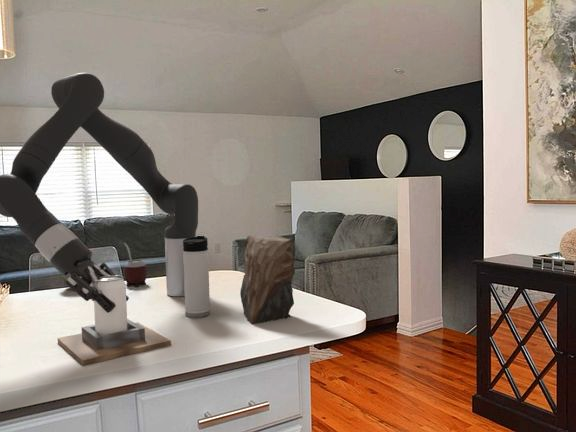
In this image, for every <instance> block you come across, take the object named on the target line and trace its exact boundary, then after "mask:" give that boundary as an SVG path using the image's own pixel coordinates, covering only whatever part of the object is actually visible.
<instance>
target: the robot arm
mask: <svg viewBox="0 0 576 432" xmlns="http://www.w3.org/2000/svg"><path fill="white" fill-rule="evenodd" d="M104 89H105V88H104V85H103V83H102V82H101V80H100V79H99V78H98V76H96V75H94V74H93V73H89V72H78V73H75V74H71V75H67V76H65V77H62V78H59V79H57V80H55V81H54V82H53V83H52V86H51V91H50V92H51V93H50V94H51V98H52V99H53V102H54V104H55V105H56V107H57V108H58V109H57V111H55V113H54V114H53V115H52V116H51V117H49V119H48V120H47V121H45V122H44V123H43V124H42V125H41V126H40V127H38V128H37V130H36V131H34V132H33V134H31V135H30V136H29V138H28V139H27V140H26V142H25V143H24V144H23V145H22V147H21V148H20V150H19V152H18V153H17V154H16V155H15V157H14V159H13V161H12V166H11V171H10V173H7V174H6V173H5V174H0V215H1V216H3V217H7V218H12V220H14V221H15V222H16V224H17V227H18V228H19V230H20V231H21V233H22V234H23V236H25V238H27V239H28V240H29V242H30V243H31V244H32V245H34V246H35V248H36V249H37V250H38V252H39V253H40V254H41V255H42V256H43V258H45V259H46V261H47V262H49V264H51V266H53V267H54V269H55V270H57V271H58V272H59V274H61V276H62V275H63V276H64V277H68V276H70V277H69V278H68V279H67V280H65V281H64V283H65V285H66V286H68V288H69V287H70V288H71V289H73V290H72V291H74V292H75V293H76V294H78V295H79V296H80V298H82V299H83V300H84V301H86V302H88V301H90V300H91V301H93V302H94V301H96V302H97V303H98V304H99V305H100V306H101V307H102V308H103V309H104V310H105V311H106V312H107V313H109V312H111V311H112V310H113V309H114V308H115V306H116V305H115V303H114V302H112V301H111V300H110V299H108V298H107V297H106V296H105V295H104V294H102V292H101V290H100V289H99V288H98V286H97V285H98V281H97V280H99V279H101V278H100V277H103V276H117V275H116V274H115V273H114V272H113V271H112V269H110V267H109V266H108V264H106V262H102V263H101V264H99V265H98V263H95V262H94V261H92V259H91V258H92V256H93V251H92V250H91V249H90V248H89V247H88V246H87V245H86V244H84V242H82V240H80V238H79V237H78V236H77V235H76V234H74V232H73V231H72V230H70V229H69V228H68V227H67V226H65V225H64V223H62V222H61V221H60V220H59V219H58V218H57V217H56V216H55V215H54V214H53V213H52V212H51V211H50V210H49V209H48V208H47V207H46V206H45V204H44V202H42V201H41V199H40V198H39V197H38V195H37V194H36V193H38V192H37V191H38V190H39V188H40V185H41V182H42V181H43V178H44V177H45V175H46V174H47V173H48V171H49V170H50V169H51V167H52V165H53V164H54V162H55V161H56V159H57V157H58V156H59V154H60V153H61V152H62V150H63V149H64V147H65V146H66V144H68V142H69V140H70V139H71V138H72V137H73V135H75V133H76V132H77V131H78V130H79V128H81V129H83V130H84V131H85V132H86V133H87V134H89V135H90V136H91V137H92V138H93V139H94V140H95V141H96V142H97V143H98V145H100V146H101V147H102V148H103V149H104V151H106V152H107V153H108V154H109V155H110V156H111V158H113V159H114V160H115V161H116V163H117V164H118V165H120V167H121V168H122V169H123V170H125V172H127V173H128V174H129V175H130V176H131V177H132V178H133V179H134V180H135V181H136V182H137V184H139V185H140V186H141V187H142V188H143V189H144V190H145V192H146V193H147V194H148V195H149V196H150V198H151V200H153V202H154V203H155V205H156V206H157V207H158V208H159V209H160V210H161V211H162V212H164V213H166V214H168V215H174V220H173V222H172V224H171V225H168V226H167V227H165V229H164V248H165V249H164V251H165V255H164V256H165V276H166V283H165V284H166V295H167V296H170V297H171V296H172V297H185V289H184V262H183V248H184V247H183V240H184V239H187V238H192V237H197V234H196V232H197V229H198V225H199V197H198V192H197V190H196V188H195V187H194V186H193V185H191V184H187V183H172V182H170V181H169V180H167V179H166V178H165V176H163V174H162V173H161V172H160V170H158V167H157V161H156V158H155V154H154V151H153V150H152V148H151V147H150V146H149V145H148V143H146V142H145V141H144V139H143V138H142V137H141V136H140V135H139V134H138V133H137V132H136V131H134V130H133V129H131V128H130V127H127V126H126V125H124V124H122V123H120V122H118V121H117V120H114V119H113V118H111V117H109V116H108V115H106V114H105V113H104V112H102V111H101V110H100V109H99V107H100V106H101V105H102V103H103V102H104V98H105V90H104ZM63 276H62V277H63ZM64 277H63V278H64ZM71 289H70V290H71ZM82 289H83V290H82ZM94 289H95V290H94ZM101 294H102V295H101ZM129 298H130V297H129V296H128V295H127V294H126V303H127V302H128V301H129V300H130V299H129Z"/></svg>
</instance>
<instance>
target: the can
mask: <svg viewBox="0 0 576 432" xmlns="http://www.w3.org/2000/svg"><path fill="white" fill-rule="evenodd" d="M100 278H101V279H99V280H97V281H98V285H97V286H98V288H99V289H100V290H101V292H102V294H104V295H105V296H106V297H107V298H108V299H110V300H111V301H112V302H114V303H115V305H116V306H115V308H114V309H113V310H112V311H111V312H109V313H107V312H106V311H105V310H104V309H103V308H102V307H101V306H100V305H99V304H98V303H97V302H96V301H93V304H94V305H93V307H94V325H95V332H96V333H98V334H99V335H106V334H111V333H115V332H120V331H125V330H127V319H128V312H127V311H128V307H127V305H128V304H127V302H126V295H127V286H126V284H127V283H126V282H125V280H124V276H122V275H116V276H103V277H100ZM94 290H95V289H94ZM102 294H101V295H102Z"/></svg>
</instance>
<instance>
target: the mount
mask: <svg viewBox="0 0 576 432" xmlns="http://www.w3.org/2000/svg"><path fill="white" fill-rule="evenodd" d="M57 343H58V344H59V346H61V347H62V348H63V349H64V350H65V351H66V352H67V353H69V354H70V356H72V357H73V358H74V359H75V360H76V361H77V362H78V363H80V365H82V366H87V365H91V364H95V363H96V364H97V363H99V362H105V361H108V360H109V361H110V360H113V359H116V358H122V357H125V356H126V357H127V356H128V355H129V356H130V355H133V354H139V353H142V352H147V351H152V350H154V349H160V348H163V347H168V346H169V347H170V346H172V340H171V339H169V338H167V337H165V336H164V335H162V334H160V333H158V332H156V331H154V330H153V329H151V328H149V327H148V326H145V325H144V324H142V323H139V322H134V321H132V320H130V319H129V318H127V330H125V331H120V332H115V333H111V334H106V335H99V334H98V333H96V332H95V324H92V325H86V326H82V327H81V333H77V334H73V335H66V336H61V337H57Z"/></svg>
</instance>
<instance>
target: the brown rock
mask: <svg viewBox="0 0 576 432" xmlns="http://www.w3.org/2000/svg"><path fill="white" fill-rule="evenodd" d="M246 240H247V243H246V248H245V252H244V255H243V260H242V261H243V270H244V271H243V272H244V274H243V278H242V283H241V287H240V294H239V295H240V300H241V305H242V309H243V315H244V317H245V318H246V321H247V322H249V324H250V325H255V324H261V323H267V321H268V322H272V321H271V320H273V321H277V320H284V319H283V318H285V319H288V317H289V318H291V317H290V311H291V309H292V307H293V306H294V304H295V301H294V294H293V291H294V290H293V288H292V287H293V286H292V283H293V279H294V275H295V274H296V270H295V266H294V264H295V262H294V259H295V258H294V254H293V242H294V240H293V238H292V237H290V238H287V237H284V236H282V235H281V236H280V235H277V236H276V235H275V236H271V237H270V236H258V235H247V237H246Z"/></svg>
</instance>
